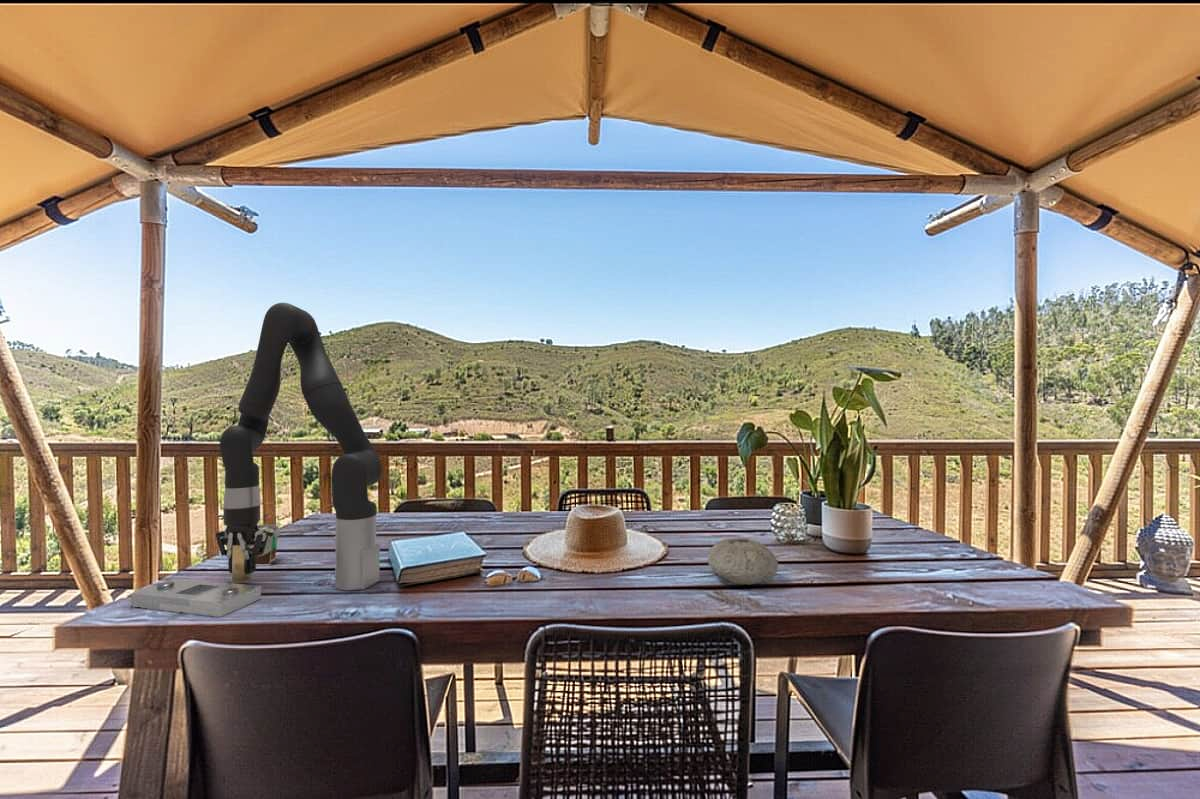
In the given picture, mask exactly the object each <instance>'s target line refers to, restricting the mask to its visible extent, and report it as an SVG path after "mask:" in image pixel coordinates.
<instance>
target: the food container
mask: <svg viewBox="0 0 1200 799" xmlns="http://www.w3.org/2000/svg"><path fill="white" fill-rule="evenodd" d="M257 526H258V528H259V531H260V532H262V533H265V532H268V533H269V536H268V539H267V543H266V546H265V550H264V553H263V554H262V555H259V556H257V557H256V564H269V565H270V564H272V563H274V562H276V557H277V556H276V554H277V546H278V537H279V536H281V534H282V533H281V529H280V528H279V525H276V524H257ZM258 550H259V549H258ZM274 564H275V563H274ZM272 565H273V564H272ZM270 566H271V565H270Z"/></svg>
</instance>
